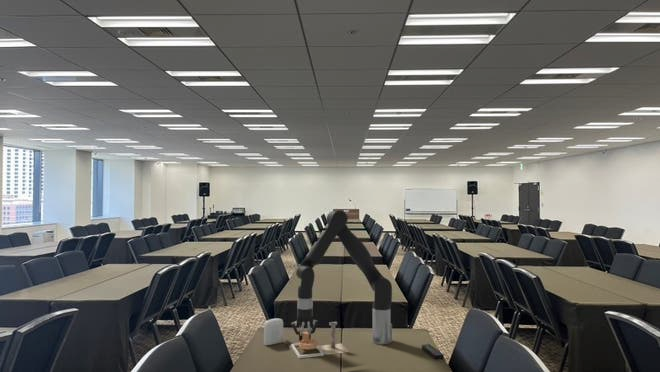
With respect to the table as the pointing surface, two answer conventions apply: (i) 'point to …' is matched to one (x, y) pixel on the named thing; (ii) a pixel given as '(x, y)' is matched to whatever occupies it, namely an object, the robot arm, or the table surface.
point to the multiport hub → (432, 352)
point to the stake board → (334, 351)
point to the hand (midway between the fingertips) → (304, 342)
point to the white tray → (307, 354)
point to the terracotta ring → (307, 342)
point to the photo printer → (273, 331)
